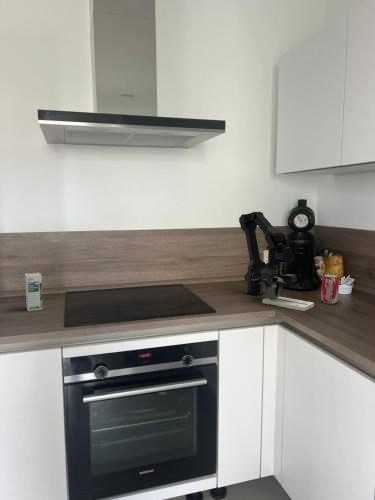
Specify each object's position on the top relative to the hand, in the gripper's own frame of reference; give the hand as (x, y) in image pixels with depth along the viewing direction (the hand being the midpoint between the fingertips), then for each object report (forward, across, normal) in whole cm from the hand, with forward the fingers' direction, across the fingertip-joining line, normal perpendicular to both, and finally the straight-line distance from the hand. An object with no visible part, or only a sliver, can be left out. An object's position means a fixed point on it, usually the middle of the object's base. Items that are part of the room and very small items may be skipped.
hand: (273, 295), depth 170 cm
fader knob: (+1, 0, 0) cm, 1 cm away
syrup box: (+3, -67, -75) cm, 101 cm away
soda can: (+3, +19, +16) cm, 25 cm away
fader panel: (+3, +7, 0) cm, 8 cm away
